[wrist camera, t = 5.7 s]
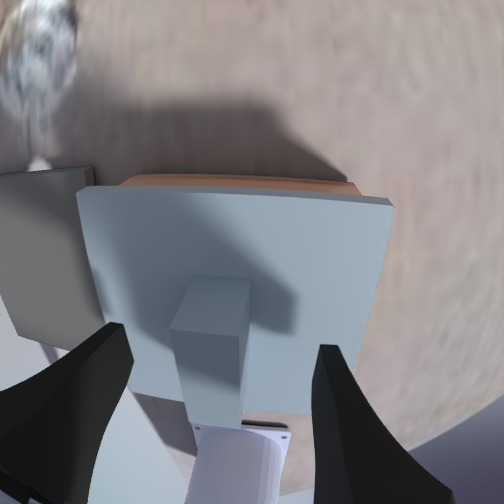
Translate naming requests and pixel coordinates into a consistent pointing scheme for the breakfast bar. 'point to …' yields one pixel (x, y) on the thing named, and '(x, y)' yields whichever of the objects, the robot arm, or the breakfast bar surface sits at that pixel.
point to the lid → (233, 288)
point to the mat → (47, 257)
